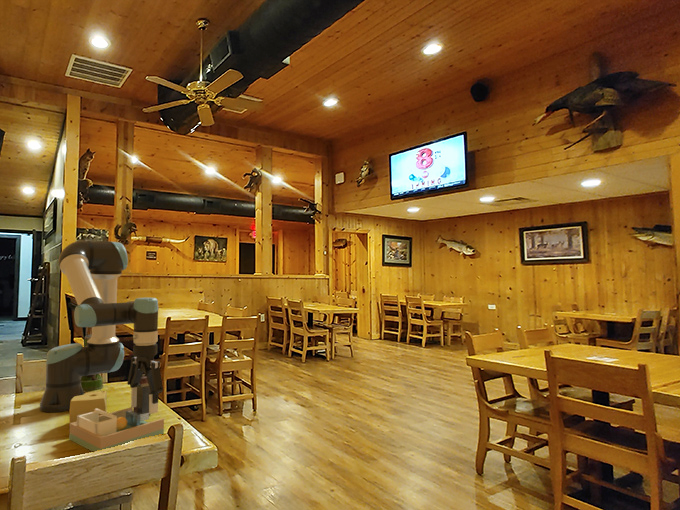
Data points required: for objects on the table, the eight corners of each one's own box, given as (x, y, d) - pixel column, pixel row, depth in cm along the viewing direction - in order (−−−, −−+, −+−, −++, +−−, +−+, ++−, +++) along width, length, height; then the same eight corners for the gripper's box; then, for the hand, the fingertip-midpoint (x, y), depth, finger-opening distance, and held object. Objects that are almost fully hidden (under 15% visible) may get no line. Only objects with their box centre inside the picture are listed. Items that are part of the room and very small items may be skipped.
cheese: (73, 421, 155) (74, 392, 155) (108, 417, 159) (108, 389, 159) (68, 431, 145) (69, 401, 145) (105, 427, 149) (106, 397, 150)
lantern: (109, 388, 196) (111, 320, 197) (84, 393, 188) (86, 323, 189) (94, 383, 205) (95, 318, 205) (69, 388, 196) (71, 320, 197)
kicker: (125, 423, 147) (126, 386, 147) (143, 417, 152) (143, 382, 152) (136, 427, 143) (137, 389, 143) (154, 422, 148) (155, 385, 148)
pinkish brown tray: (69, 439, 139) (69, 423, 139) (131, 421, 155) (131, 407, 155) (100, 455, 127) (100, 438, 127) (163, 434, 143) (163, 419, 143)
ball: (111, 430, 141) (111, 417, 141) (123, 426, 145) (123, 414, 145) (117, 433, 139) (117, 420, 139) (129, 429, 142) (130, 416, 142)
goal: (76, 435, 137) (77, 413, 137) (96, 429, 142) (97, 408, 142) (95, 445, 130) (96, 421, 130) (116, 438, 135) (116, 416, 135)
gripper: (117, 341, 153) (115, 405, 152) (154, 349, 139) (152, 419, 139) (137, 338, 159) (136, 400, 158) (175, 345, 145) (174, 413, 145)
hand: (144, 409), depth 148 cm, fingers open, 10 cm apart
